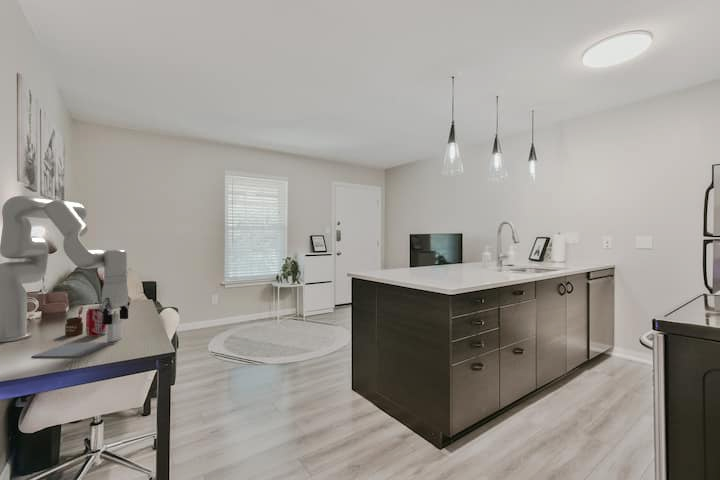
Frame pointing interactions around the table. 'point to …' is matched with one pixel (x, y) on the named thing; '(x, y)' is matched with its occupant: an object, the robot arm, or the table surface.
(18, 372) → the table surface
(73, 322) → the utensil holder
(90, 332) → the soda can
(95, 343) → the slate mat
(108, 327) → the eye dropper bottle
